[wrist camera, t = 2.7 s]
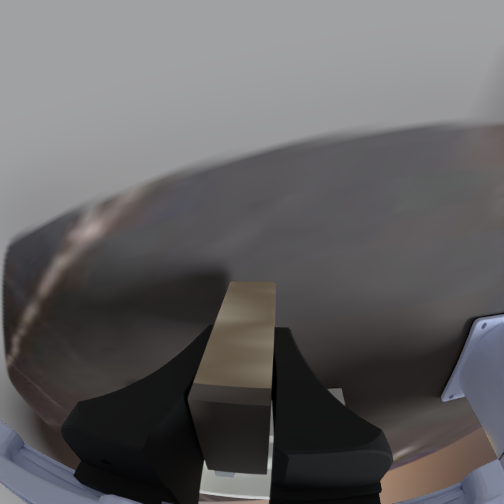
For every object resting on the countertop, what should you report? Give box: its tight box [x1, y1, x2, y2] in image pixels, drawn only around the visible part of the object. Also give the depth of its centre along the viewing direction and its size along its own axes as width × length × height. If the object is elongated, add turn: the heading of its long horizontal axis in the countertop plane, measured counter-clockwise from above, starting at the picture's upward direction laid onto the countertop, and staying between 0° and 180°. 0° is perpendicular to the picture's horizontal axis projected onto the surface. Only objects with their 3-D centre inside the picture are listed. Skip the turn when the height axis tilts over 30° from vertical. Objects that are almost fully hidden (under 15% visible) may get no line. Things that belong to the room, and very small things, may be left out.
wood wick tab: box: [188, 281, 276, 475], centre depth 10 cm, size 2×4×7 cm, turn 1°
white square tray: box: [200, 388, 345, 499], centre depth 18 cm, size 12×12×4 cm
